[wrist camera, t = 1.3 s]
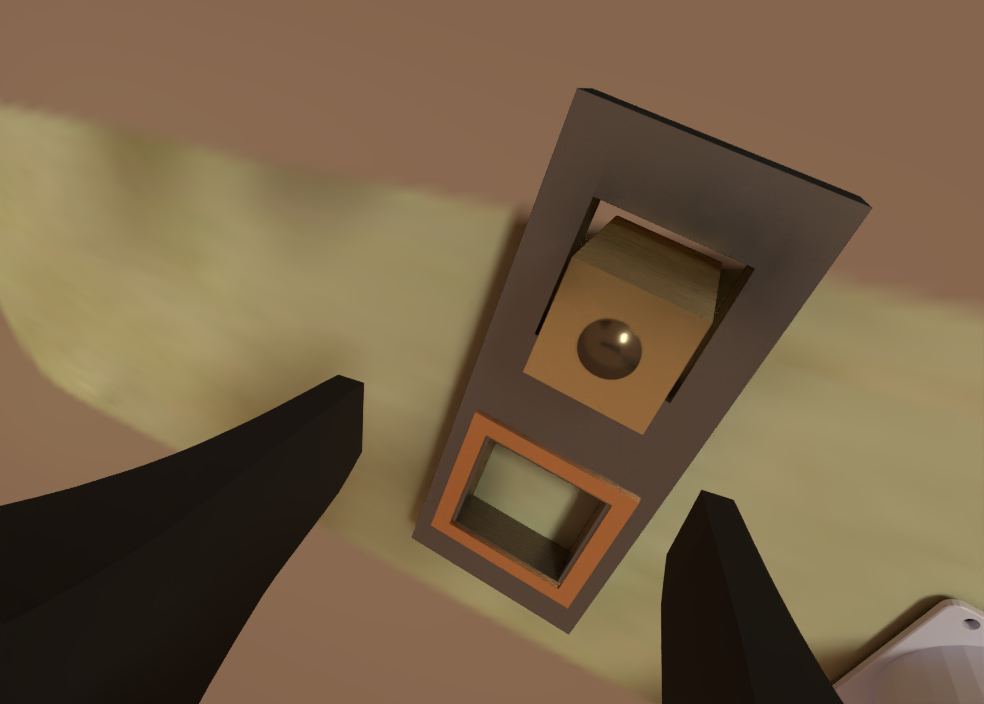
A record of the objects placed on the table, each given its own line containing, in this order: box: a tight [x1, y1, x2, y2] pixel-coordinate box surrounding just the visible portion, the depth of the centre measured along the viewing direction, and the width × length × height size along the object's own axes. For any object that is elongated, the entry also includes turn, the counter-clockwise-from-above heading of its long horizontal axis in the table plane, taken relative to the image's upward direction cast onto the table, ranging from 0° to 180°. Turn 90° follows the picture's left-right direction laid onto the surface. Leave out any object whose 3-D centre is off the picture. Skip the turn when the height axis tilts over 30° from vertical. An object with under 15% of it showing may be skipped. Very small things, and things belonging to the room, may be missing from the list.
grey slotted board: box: [412, 88, 872, 634], centre depth 22 cm, size 9×22×2 cm, turn 160°
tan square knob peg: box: [523, 216, 722, 435], centre depth 18 cm, size 4×4×6 cm
